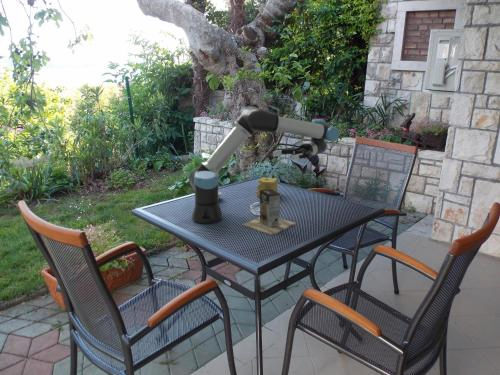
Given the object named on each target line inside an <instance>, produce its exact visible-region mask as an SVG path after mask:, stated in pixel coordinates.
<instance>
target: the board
mask: <svg viewBox="0 0 500 375" xmlns="http://www.w3.org/2000/svg"><path fill="white" fill-rule="evenodd" d="M295 225H296V222H293V221H290V220H287V219H284V218H281V217H279V226H273V227H267V226H266V225H265V224H263V223H262V222H261V221H260V216H259V217H257V218H254V219H252V220H250V221H247V222H244V223H242V226H243V227H246V228H249V229H252V230H254V231H258V232H260V233H263V234H267V235H269V236H274V235H276V234H279V233H280V232H283V231H285V230H287V229H289V228H291V227H293V226H295Z"/></svg>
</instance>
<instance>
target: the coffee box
mask: <svg viewBox="0 0 500 375" xmlns="http://www.w3.org/2000/svg"><path fill="white" fill-rule="evenodd" d="M280 202H281V193H279V192H278V191H277V192H276V191H274V190H272V189H264V190H260V197H259V217H260V221H261V222H262V223H263V224H265V225H266V226H267V227H273V226H279V218H280V215H281V214H280V212H281V208H280V206H281V204H280Z"/></svg>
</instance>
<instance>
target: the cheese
mask: <svg viewBox="0 0 500 375" xmlns="http://www.w3.org/2000/svg"><path fill="white" fill-rule="evenodd" d="M256 187H257V188H256V189H257V192H256V197H257V198H260V190H264V189H272V190H274V191H276V192H278V178H277V177H264V176H263V177H260V178H259V179H258V184H257V186H256Z"/></svg>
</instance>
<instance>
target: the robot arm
mask: <svg viewBox="0 0 500 375" xmlns="http://www.w3.org/2000/svg"><path fill="white" fill-rule="evenodd" d="M256 132H259V133H271V134H275V133H282V134H288V135H289V134H290V135H296V136H302V137H308V138H310V142H305V143H302V144H299V147H293V146H292V147H286V148H277V150H274V151H272V157H273V158H275V157H281V156H282V155H292V156H293V160H294V161H299V160H303V159H305V160H306V159H307V160H309V159H310V158H311V157H312V156H316V155H320V154H323V153H325V152H327V150H328V147H329V146H328V143H327V141H329V142H335V141H337V140H338V139H339V137H340V133H341V132H340V130H339V128H337V127H335V126H333V125H329V124H327V123H326V120H325V119H323V118H315V119H314V118H313V119H312V120H311V122H309V121H305V120H300V119H294V118H290V117H289V118H288V117H283V116H280V115H279V114H278V113H274V112H269V111H267V110H265V109H262V108H259V107H256V106H253V105H251V106H245V107H244V108H242V109H241V110H240V111H239V113H238V117H237V119H236V120H235V122H234V127H233V128H232V129H231V130H230V131H229V133H228V134H227V135H226V136H225V138H224V139H222V141H221V143H220V144H219V145H218V146H217V148H216V149H215V150H214V151H213V153H212V154H211V155H210V156H209V157H208V158H207V159H206V161H201V162H200V164H198V166H197V167H194V168H192V170H191V171H190V172H189V175H188V183H189V186H190V187H191V188H192V189H193V191H194V201H195V202H194V209H193V213H192V219H191V220H192V221H193V222H194V223H196V224H202V225H208V224H215V223H219V222H221V221H222V220H223V212H222V210H221V207H220V202H219V199H218V192H219V176H220V175H219V173H220V171H221V170H222V168H223V167H224V166H225V164H226V163H227V162H228V161H229V160H230V159H231V158H232V156H234V155H235V153H236V152H237V150H239V148H240V147H241V145H242V144H243V143H244V142H245V140H247V138H248V137H249V138H250V137H253V136H254V134H255V133H256Z"/></svg>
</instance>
